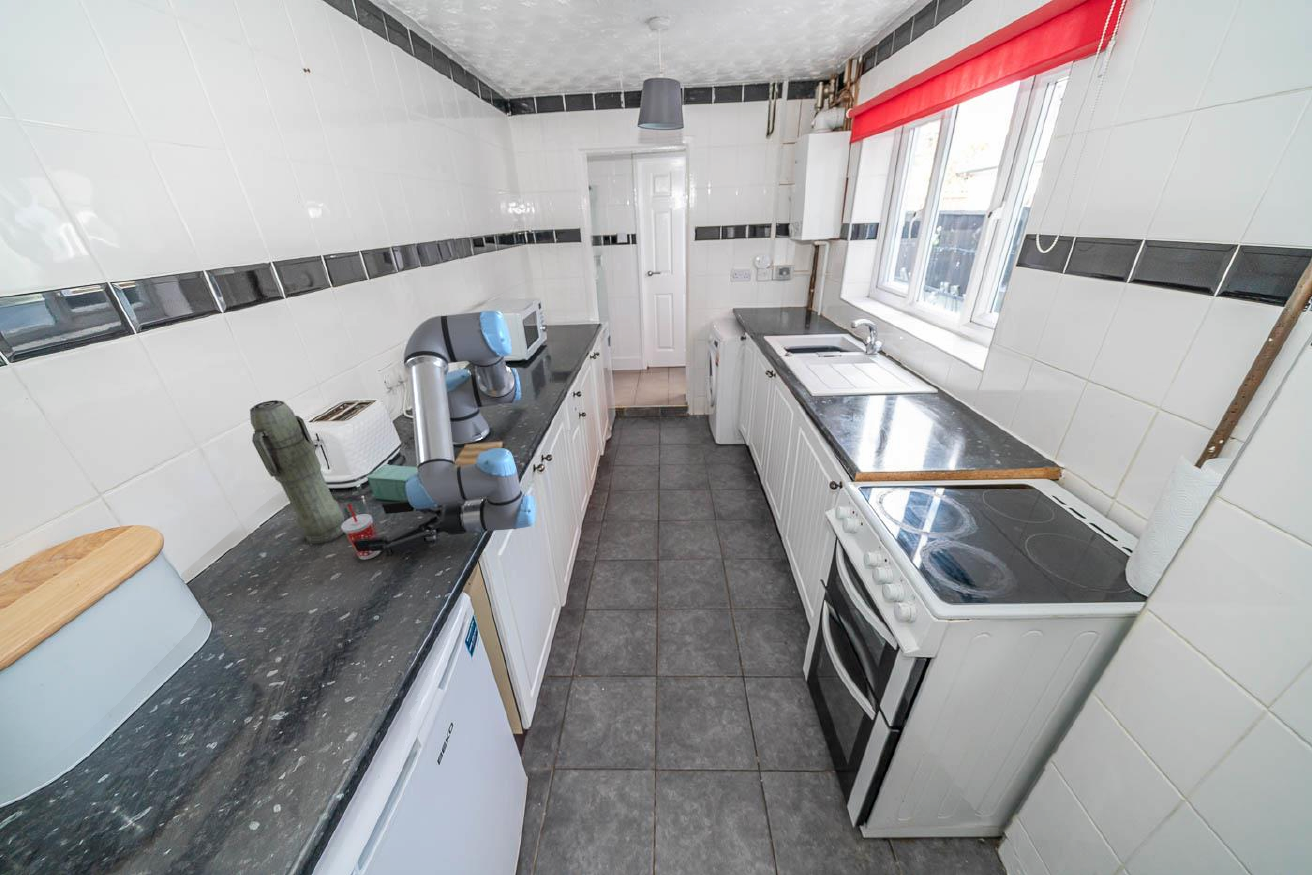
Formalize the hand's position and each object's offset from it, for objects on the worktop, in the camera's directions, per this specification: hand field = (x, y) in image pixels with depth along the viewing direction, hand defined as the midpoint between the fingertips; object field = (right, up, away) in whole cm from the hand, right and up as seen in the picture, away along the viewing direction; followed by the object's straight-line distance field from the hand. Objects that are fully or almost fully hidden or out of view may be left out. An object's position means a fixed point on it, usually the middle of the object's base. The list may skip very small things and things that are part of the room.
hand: (370, 526), depth 103 cm
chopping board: (+8, +13, +41) cm, 44 cm away
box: (-7, +4, +26) cm, 27 cm away
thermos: (-18, -4, +11) cm, 22 cm away
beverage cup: (-2, -7, +3) cm, 8 cm away
